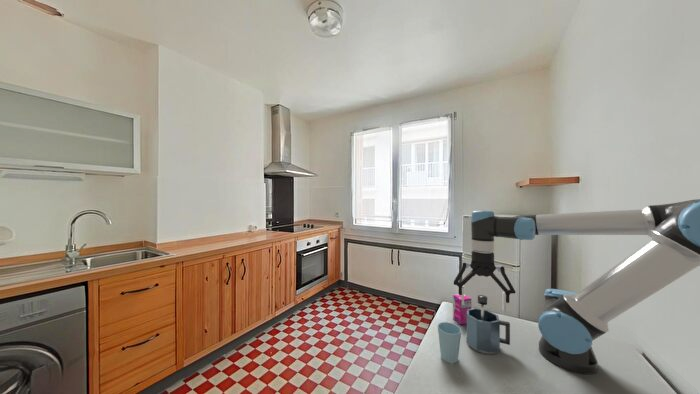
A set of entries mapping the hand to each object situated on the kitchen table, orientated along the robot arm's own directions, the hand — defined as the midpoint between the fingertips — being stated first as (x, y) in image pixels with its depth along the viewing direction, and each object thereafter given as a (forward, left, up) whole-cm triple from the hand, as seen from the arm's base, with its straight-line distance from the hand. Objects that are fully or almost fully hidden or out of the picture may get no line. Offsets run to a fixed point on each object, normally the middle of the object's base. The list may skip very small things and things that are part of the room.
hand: (482, 307), depth 88 cm
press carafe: (-1, 0, -15) cm, 15 cm away
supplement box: (+7, -16, -15) cm, 23 cm away
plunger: (0, 0, -12) cm, 12 cm away
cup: (+11, +13, -15) cm, 23 cm away
